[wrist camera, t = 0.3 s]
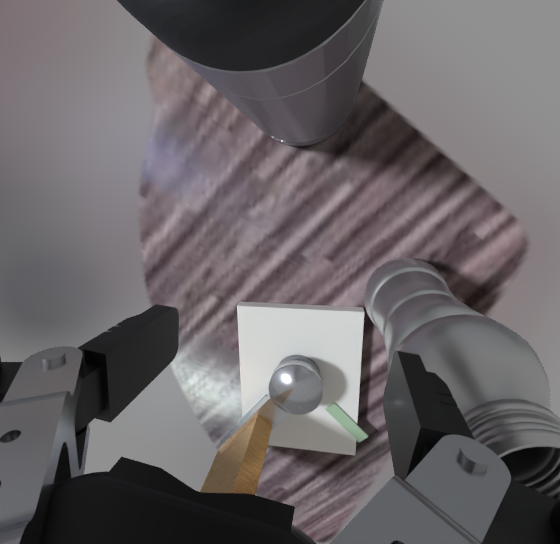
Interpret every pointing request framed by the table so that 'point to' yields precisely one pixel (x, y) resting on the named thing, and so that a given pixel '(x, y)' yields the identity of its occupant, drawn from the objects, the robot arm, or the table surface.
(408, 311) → the plastic bottle
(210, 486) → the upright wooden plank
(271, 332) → the base plate
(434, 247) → the table surface
